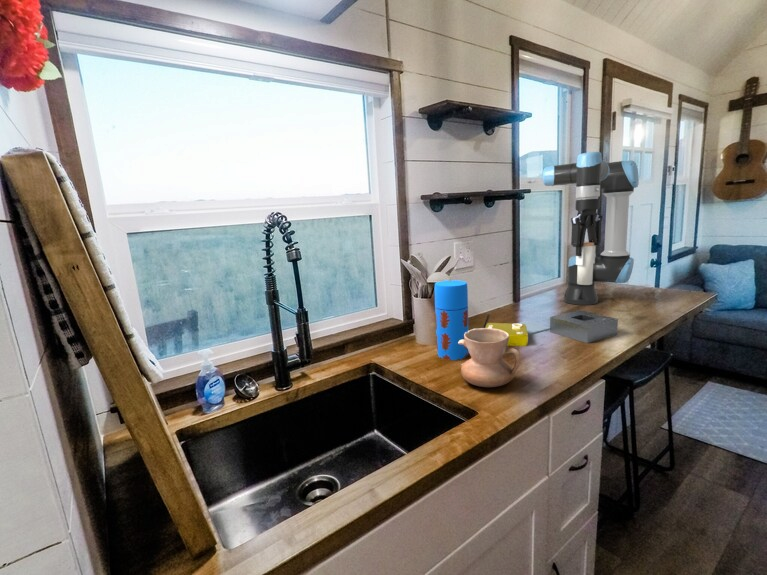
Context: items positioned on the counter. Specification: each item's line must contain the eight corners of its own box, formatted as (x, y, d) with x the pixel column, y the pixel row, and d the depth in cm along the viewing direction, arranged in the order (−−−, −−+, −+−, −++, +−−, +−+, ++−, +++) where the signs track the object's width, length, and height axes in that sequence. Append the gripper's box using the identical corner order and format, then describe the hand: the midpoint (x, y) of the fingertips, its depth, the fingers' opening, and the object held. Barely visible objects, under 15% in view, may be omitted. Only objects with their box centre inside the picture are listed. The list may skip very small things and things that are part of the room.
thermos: (460, 362, 123) (458, 287, 119) (431, 356, 130) (428, 285, 125) (474, 351, 132) (472, 281, 127) (446, 346, 138) (444, 279, 134)
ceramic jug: (448, 384, 109) (446, 336, 106) (471, 366, 120) (470, 323, 117) (510, 400, 98) (510, 348, 95) (529, 379, 109) (529, 331, 106)
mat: (528, 322, 161) (528, 320, 161) (551, 329, 150) (551, 327, 150) (506, 327, 156) (506, 325, 156) (528, 334, 145) (528, 333, 145)
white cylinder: (583, 281, 143) (584, 241, 140) (595, 283, 138) (597, 242, 135) (573, 283, 141) (575, 243, 138) (586, 285, 136) (587, 243, 133)
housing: (578, 324, 154) (579, 310, 152) (617, 334, 139) (617, 318, 138) (549, 331, 147) (550, 316, 146) (587, 343, 133) (587, 326, 132)
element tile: (485, 332, 152) (485, 321, 151) (525, 334, 148) (525, 322, 147) (484, 345, 138) (484, 333, 137) (528, 347, 134) (528, 334, 133)
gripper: (579, 199, 127) (577, 268, 131) (614, 196, 134) (611, 262, 138) (560, 200, 133) (558, 266, 138) (595, 198, 141) (592, 260, 145)
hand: (585, 263), depth 138 cm, fingers closed on white cylinder, 5 cm apart
